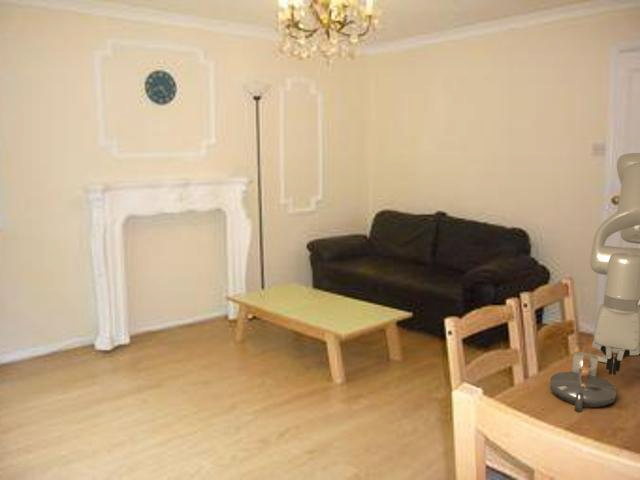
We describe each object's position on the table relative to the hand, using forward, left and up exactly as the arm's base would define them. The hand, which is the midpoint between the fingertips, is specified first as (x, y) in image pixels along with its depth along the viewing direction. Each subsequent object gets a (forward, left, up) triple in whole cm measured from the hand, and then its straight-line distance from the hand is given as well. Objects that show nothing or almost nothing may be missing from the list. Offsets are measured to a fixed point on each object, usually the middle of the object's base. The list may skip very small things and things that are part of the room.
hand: (612, 372), depth 148 cm
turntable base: (+5, -6, -6) cm, 10 cm away
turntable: (+5, -6, -4) cm, 9 cm away
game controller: (-20, -2, -6) cm, 21 cm away
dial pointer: (+14, -6, -6) cm, 17 cm away
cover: (-8, -7, -6) cm, 12 cm away
